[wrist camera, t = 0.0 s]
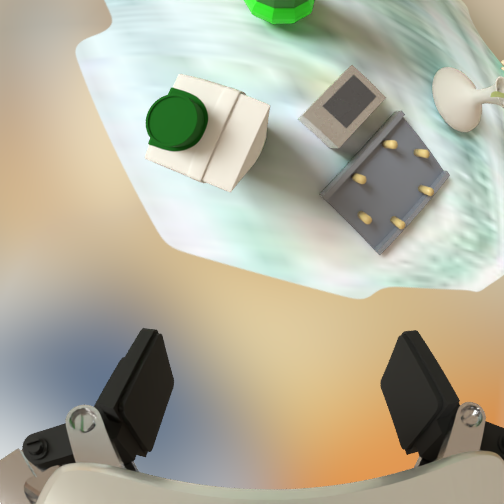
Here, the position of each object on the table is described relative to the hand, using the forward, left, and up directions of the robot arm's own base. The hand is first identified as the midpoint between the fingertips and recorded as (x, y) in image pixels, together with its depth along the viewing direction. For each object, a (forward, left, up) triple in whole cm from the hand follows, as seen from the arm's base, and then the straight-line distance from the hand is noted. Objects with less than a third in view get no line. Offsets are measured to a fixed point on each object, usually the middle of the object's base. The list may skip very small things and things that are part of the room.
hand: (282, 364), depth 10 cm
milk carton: (-3, -10, -31) cm, 33 cm away
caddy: (-14, +11, -31) cm, 36 cm away
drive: (-16, -2, -31) cm, 35 cm away
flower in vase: (-34, +10, -31) cm, 48 cm away
